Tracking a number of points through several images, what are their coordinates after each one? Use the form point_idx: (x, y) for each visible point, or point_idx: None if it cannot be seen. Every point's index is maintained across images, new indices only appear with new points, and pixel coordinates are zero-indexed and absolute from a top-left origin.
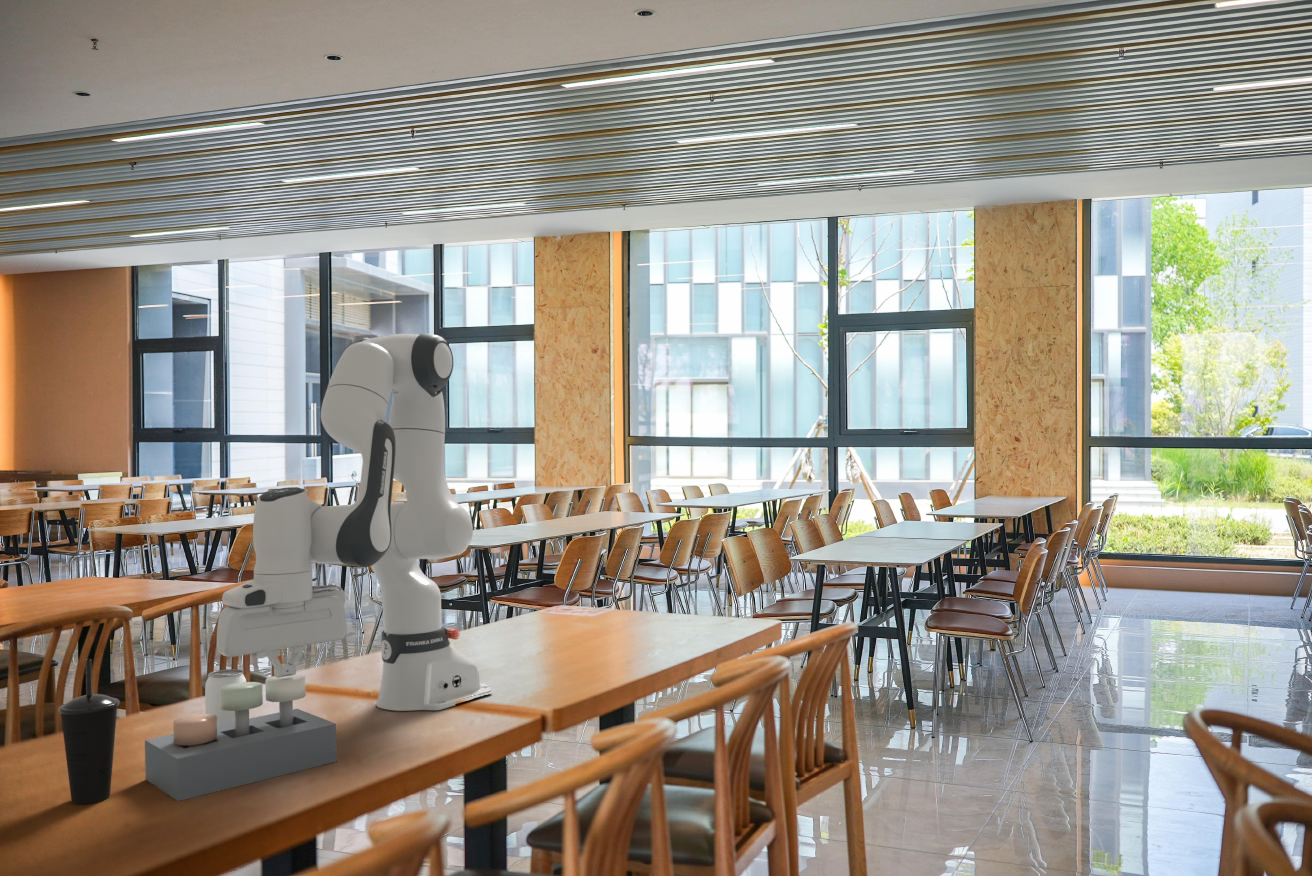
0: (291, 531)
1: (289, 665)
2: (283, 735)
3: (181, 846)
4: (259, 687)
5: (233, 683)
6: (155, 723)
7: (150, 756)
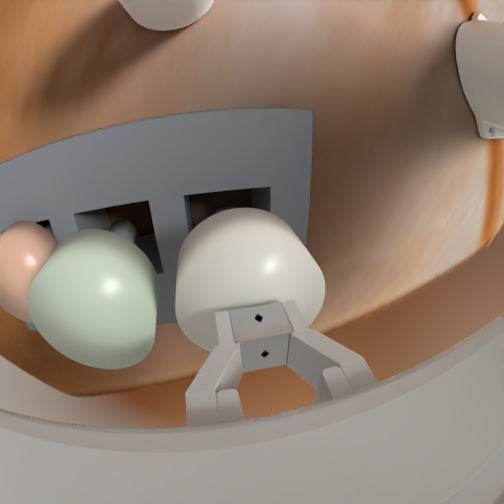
0: None
1: (273, 366)
2: None
3: (78, 384)
4: (142, 357)
5: None
6: None
7: None
